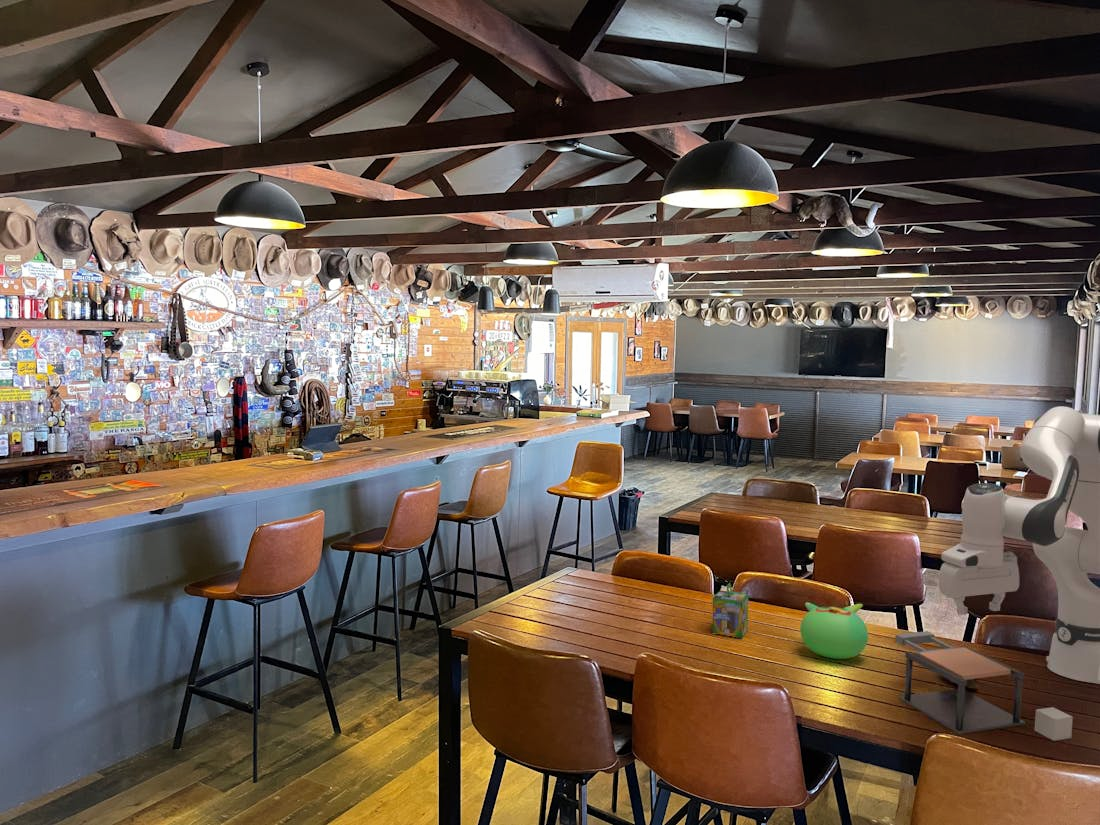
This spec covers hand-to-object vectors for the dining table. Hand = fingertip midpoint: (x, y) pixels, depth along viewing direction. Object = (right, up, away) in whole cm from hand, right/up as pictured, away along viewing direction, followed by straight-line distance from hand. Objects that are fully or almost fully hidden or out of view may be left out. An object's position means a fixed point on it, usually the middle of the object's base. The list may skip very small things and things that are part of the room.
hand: (978, 612), depth 186 cm
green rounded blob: (-20, -22, +39) cm, 49 cm away
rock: (+7, -24, +23) cm, 34 cm away
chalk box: (-45, -21, +57) cm, 75 cm away
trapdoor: (-3, -14, +9) cm, 17 cm away
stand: (-1, -25, +5) cm, 26 cm away
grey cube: (+14, -26, -6) cm, 30 cm away
